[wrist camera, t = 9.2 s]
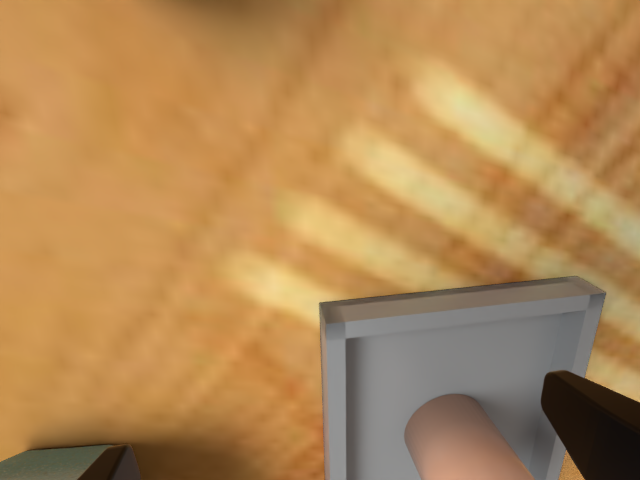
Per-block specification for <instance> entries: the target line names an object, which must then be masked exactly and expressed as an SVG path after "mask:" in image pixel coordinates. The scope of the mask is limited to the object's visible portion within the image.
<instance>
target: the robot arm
mask: <svg viewBox="0 0 640 480" xmlns="http://www.w3.org/2000/svg"><path fill="white" fill-rule="evenodd" d="M540 401H541V407H542V410H543V412H544V414H545V415H546V417H547V419H548V420H549V422H550V424H551V425H552V427H553V428H554V430H555V432H556V433H557V435H558V437H559V438H560V440H561V442H562V443H563V445H564V447H565V448H566V450H567V452H568V453H569V455H570V456H571V458H572V460H573V461H574V463H575V465H576V466H577V468H578V470H579V471H580V473H581V474H582V476H583V477H584V479H585V480H640V402H637V401H635V400H633V399H630V398H628V397H626V396H624V395H621V394H619V393H617V392H615V391H612V390H610V389H608V388H606V387H603V386H601V385H599V384H597V383H594V382H592V381H590V380H588V379H585V378H583V377H581V376H578V375H576V374H574V373H572V372H569V371H567V370H558V371H552V372H548V373H547V374H546V375H545V377H544V382H543V388H542V394H541V400H540ZM77 480H141V475H140V470H139V467H138V464H137V461H136V458H135V455H134V451H133V449H132V446H131V445H129V444H122V445H116V446H111V447H108V448H107V449H105V450H104V451H103V452H102V453H101V454H100V455H99V456H98V458H97V459H96V460H95V461H94V462H93V463H92V464H91V465H90V466H89V467H88V468H87V469H86V470H85V471H84V472H83V473H82V475H81V476H80V477H79V478H78V479H77Z"/></svg>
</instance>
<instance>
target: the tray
mask: <svg viewBox="0 0 640 480" xmlns="http://www.w3.org/2000/svg"><path fill="white" fill-rule="evenodd" d="M605 295H606V292H604V291H602V290H600V289H599V288H597V287H595V286H593V285H592V284H590V283H588V282H586V281H584V280H583V279H581V278H579V277H577V276H572V277H562V278H553V279H543V280H534V281H524V282H514V283H505V284H495V285H486V286H476V287H466V288H457V289H447V290H438V291H428V292H419V293H409V294H399V295H390V296H380V297H371V298H361V299H351V300H342V301H332V302H323V303H319V310H320V341H321V372H322V402H323V433H324V464H325V480H421V478H420V476H419V474H418V472H417V469H416V467H415V465H414V463H413V460H412V458H411V456H410V453H409V451H408V449H407V447H406V444H405V440H404V432H405V428H406V425H407V423H408V421H409V419H410V418H411V416H412V415H413V414H414V413H415V412H416V411H417V410H418V409H419V408H420V407H421V406H422V405H424V404H425V403H427V402H429V401H430V400H432V399H435V398H437V397H440V396H443V395H448V394H462V395H466V396H469V397H471V398H473V399H475V400H476V401H477V402H478V403H479V404H480V405H481V407H482V408H483V409H484V411H485V412H486V413H487V415H488V416H489V418H490V419H491V420H492V422H493V423H494V424H495V426H496V427H497V428H498V430H499V431H500V433H501V434H502V435H503V437H504V438H505V439H506V441H507V442H508V443H509V445H510V446H511V448H512V449H513V450H514V452H515V453H516V454H517V456H518V457H519V458H520V460H521V461H522V463H523V464H524V465H525V467H526V468H527V469H528V471H529V472H530V473H531V475H532V476H533V478H534V479H535V480H558V479H559V475H560V471H561V467H562V463H563V459H564V455H565V452H566V448H565V447H564V445H563V443H562V442H561V440H560V438H559V437H558V435H557V433H556V432H555V430H554V428H553V427H552V425H551V424H550V422H549V420H548V419H547V417H546V415H545V414H544V412H543V410H542V407H541V401H540V400H541V394H542V388H543V382H544V377H545V375H546V374H547V373H548V372H552V371H558V370H567V371H569V372H572V373H574V374H576V375H578V376H581V377H583V378H584V377H585V373H586V369H587V366H588V362H589V358H590V354H591V350H592V346H593V342H594V338H595V334H596V330H597V326H598V323H599V319H600V315H601V311H602V307H603V303H604V299H605Z"/></svg>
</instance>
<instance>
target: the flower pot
mask: <svg viewBox="0 0 640 480" xmlns="http://www.w3.org/2000/svg"><path fill="white" fill-rule="evenodd" d="M111 446H113V445H97V446H85V447H74V448H59V449H45V450H30V451H25V452H22V453H20V454H18V455H15V456H13V457H10V458H8V459H6V460H4V461H1V462H0V480H77V479H78V478H79V477H80V476H81V475H82V473H83V472H84V471H85V470H86V469H87V468H88V467H89V466H90V465H91V464H92V463H93V462H94V461H95V460H96V459H97V458H98V456H99V455H100V454H101V453H102V452H103V451H104V450H105V449H107V448H108V447H111Z"/></svg>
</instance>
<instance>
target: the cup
mask: <svg viewBox="0 0 640 480" xmlns="http://www.w3.org/2000/svg"><path fill="white" fill-rule="evenodd" d="M404 440H405V444H406V447H407V449H408V451H409V453H410V456H411V458H412V460H413V463H414V465H415V467H416V469H417V472H418V474H419V476H420V478H421V480H535V479H534V478H533V476H532V475H531V473H530V472H529V471H528V469H527V468H526V467H525V465H524V464H523V463H522V461H521V460H520V458H519V457H518V456H517V454H516V453H515V452H514V450H513V449H512V448H511V446H510V445H509V443H508V442H507V441H506V439H505V438H504V437H503V435H502V434H501V433H500V431H499V430H498V428H497V427H496V426H495V424H494V423H493V422H492V420H491V419H490V418H489V416H488V415H487V413H486V412H485V411H484V409H483V408H482V407H481V405H480V404H479V403H478V402H477V401H476V400H475V399H473V398H471V397H469V396H466V395H462V394H448V395H443V396H440V397H437V398H435V399H432V400H430V401H429V402H427V403H425V404H424V405H422V406H421V407H420V408H419V409H418V410H417V411H416V412H415V413H414V414H413V415H412V416H411V418H410V419H409V421H408V423H407V425H406V428H405V432H404Z"/></svg>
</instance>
